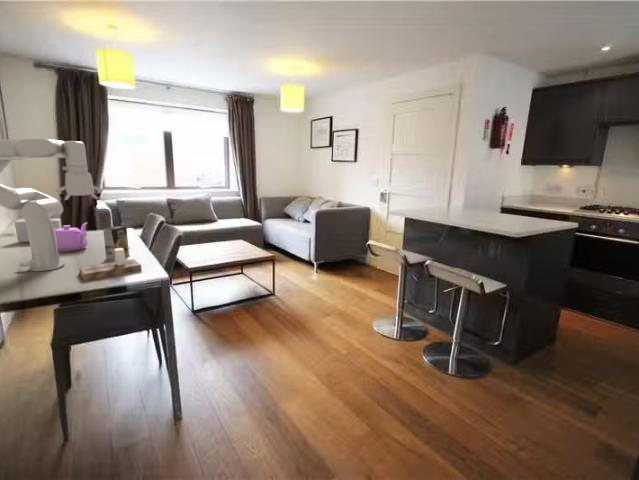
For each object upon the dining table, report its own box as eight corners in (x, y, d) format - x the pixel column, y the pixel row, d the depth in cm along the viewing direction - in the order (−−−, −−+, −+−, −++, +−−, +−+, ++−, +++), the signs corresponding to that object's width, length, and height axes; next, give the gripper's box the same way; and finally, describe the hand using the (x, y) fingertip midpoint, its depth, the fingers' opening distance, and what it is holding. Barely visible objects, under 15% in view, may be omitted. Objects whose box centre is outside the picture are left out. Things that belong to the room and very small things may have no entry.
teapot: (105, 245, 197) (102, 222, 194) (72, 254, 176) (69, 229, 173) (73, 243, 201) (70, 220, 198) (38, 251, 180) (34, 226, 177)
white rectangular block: (117, 265, 150) (116, 250, 148) (115, 263, 153) (113, 248, 151) (125, 264, 152) (124, 249, 150) (123, 262, 155) (121, 247, 154)
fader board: (84, 280, 139) (83, 273, 138) (79, 273, 147) (79, 267, 147) (141, 271, 154) (140, 264, 153) (134, 265, 162) (133, 258, 161)
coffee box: (116, 260, 169) (113, 229, 165) (105, 259, 170) (102, 228, 166) (129, 255, 177) (127, 226, 174) (119, 254, 179) (116, 225, 175)
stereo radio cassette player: (17, 243, 195) (11, 210, 191) (22, 240, 203) (17, 208, 198) (60, 241, 204) (56, 209, 200) (64, 238, 211) (60, 207, 207)
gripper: (53, 169, 139) (59, 210, 143) (101, 170, 150) (106, 207, 154) (52, 169, 144) (57, 208, 148) (98, 169, 156) (102, 206, 159)
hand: (82, 207), depth 151 cm, fingers open, 9 cm apart
